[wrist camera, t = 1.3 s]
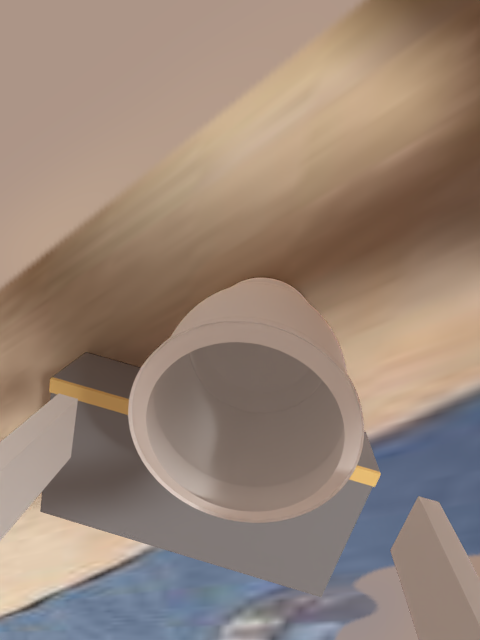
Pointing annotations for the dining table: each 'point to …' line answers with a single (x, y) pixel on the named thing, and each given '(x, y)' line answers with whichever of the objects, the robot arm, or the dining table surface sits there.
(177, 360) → the jar
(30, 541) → the dining table surface
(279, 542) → the dock
